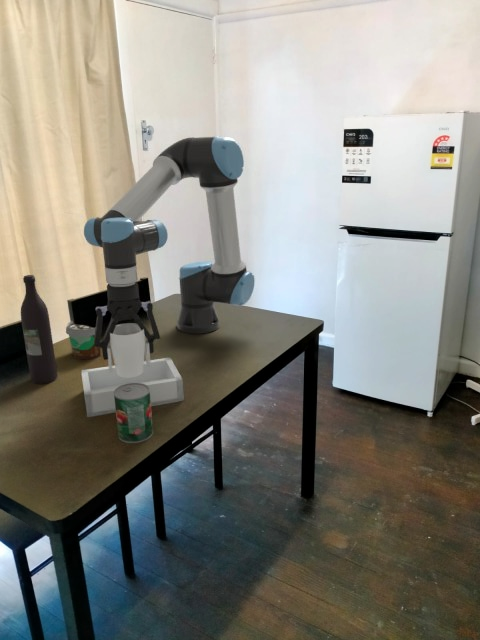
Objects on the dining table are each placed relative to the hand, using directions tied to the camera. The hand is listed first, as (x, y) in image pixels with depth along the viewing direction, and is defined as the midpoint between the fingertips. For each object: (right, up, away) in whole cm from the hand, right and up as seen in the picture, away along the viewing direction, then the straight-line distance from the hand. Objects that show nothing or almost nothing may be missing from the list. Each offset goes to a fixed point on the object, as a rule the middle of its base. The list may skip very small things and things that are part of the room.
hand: (129, 367), depth 132 cm
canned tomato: (+5, -14, -15) cm, 21 cm away
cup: (0, -2, +1) cm, 2 cm away
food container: (-21, +1, +28) cm, 35 cm away
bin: (0, -8, +3) cm, 8 cm away
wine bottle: (-27, -5, +13) cm, 30 cm away
